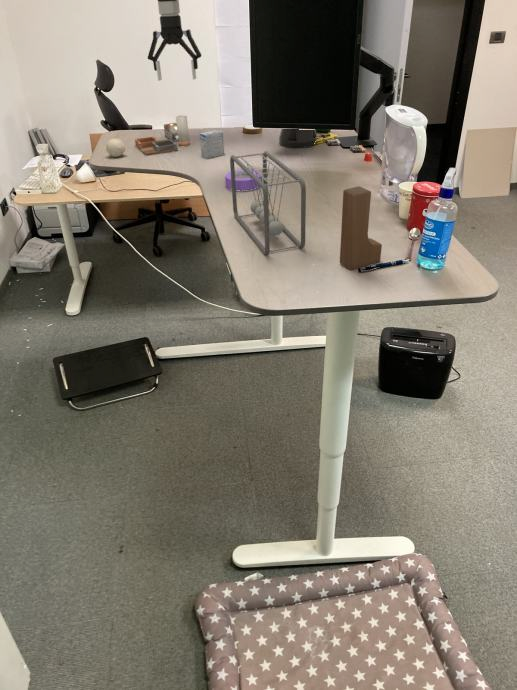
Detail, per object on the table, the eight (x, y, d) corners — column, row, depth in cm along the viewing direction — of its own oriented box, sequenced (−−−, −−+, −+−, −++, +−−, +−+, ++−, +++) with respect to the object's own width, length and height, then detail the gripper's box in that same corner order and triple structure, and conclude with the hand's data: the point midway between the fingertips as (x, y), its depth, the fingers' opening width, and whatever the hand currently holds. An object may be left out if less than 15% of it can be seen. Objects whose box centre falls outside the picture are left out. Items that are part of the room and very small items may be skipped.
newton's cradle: (233, 216, 157) (229, 153, 147) (267, 210, 160) (265, 148, 149) (266, 258, 134) (263, 187, 123) (305, 251, 136) (306, 180, 126)
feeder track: (186, 140, 229) (185, 126, 226) (172, 142, 227) (170, 128, 224) (179, 134, 238) (177, 121, 235) (165, 136, 236) (163, 123, 233)
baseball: (123, 159, 210) (120, 141, 206) (105, 159, 211) (102, 141, 207) (129, 154, 215) (126, 136, 211) (112, 154, 216) (108, 136, 212)
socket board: (177, 150, 216) (176, 144, 215) (145, 155, 212) (144, 148, 211) (166, 141, 229) (165, 134, 228) (135, 145, 225) (134, 139, 224)
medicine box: (218, 152, 212) (216, 129, 207) (224, 155, 209) (223, 131, 204) (201, 156, 208) (199, 133, 203) (207, 159, 205) (205, 135, 200)
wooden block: (369, 254, 133) (375, 181, 123) (380, 261, 130) (388, 187, 119) (338, 263, 129) (342, 189, 119) (350, 270, 126) (355, 195, 116)
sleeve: (191, 145, 222) (188, 117, 216) (180, 147, 221) (177, 118, 214) (188, 143, 226) (185, 114, 219) (177, 144, 224) (173, 116, 218)
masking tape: (255, 178, 185) (254, 167, 183) (265, 189, 176) (265, 177, 173) (221, 183, 182) (220, 171, 180) (231, 194, 173) (230, 182, 171)
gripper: (205, 12, 199) (210, 76, 211) (139, 16, 202) (148, 79, 214) (201, 14, 193) (207, 79, 205) (133, 17, 196) (143, 82, 207)
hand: (177, 79), depth 209 cm, fingers open, 13 cm apart
